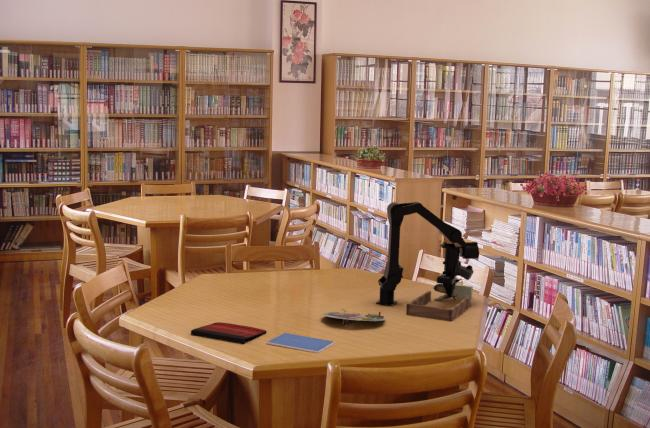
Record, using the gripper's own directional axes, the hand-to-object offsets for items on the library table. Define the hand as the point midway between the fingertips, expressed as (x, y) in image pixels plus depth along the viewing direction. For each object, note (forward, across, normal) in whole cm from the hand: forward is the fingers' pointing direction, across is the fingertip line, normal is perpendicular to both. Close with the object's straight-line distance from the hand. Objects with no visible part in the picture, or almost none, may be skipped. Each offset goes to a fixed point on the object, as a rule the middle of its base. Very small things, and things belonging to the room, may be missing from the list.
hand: (450, 297), depth 312 cm
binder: (+3, -80, +52) cm, 95 cm away
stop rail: (+2, +11, 0) cm, 11 cm away
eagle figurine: (+2, +3, +3) cm, 5 cm away
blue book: (+3, -78, +26) cm, 82 cm away
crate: (+2, -14, 0) cm, 14 cm away
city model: (+3, -44, +22) cm, 49 cm away
